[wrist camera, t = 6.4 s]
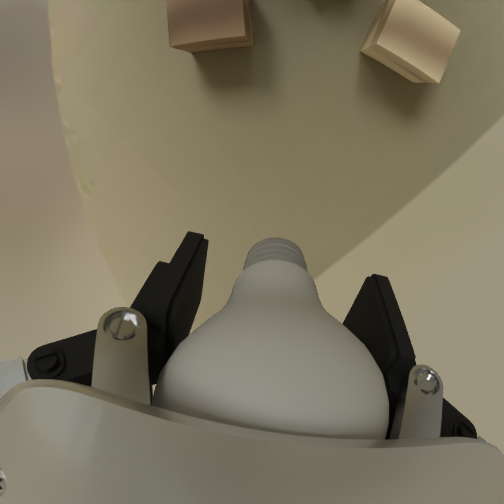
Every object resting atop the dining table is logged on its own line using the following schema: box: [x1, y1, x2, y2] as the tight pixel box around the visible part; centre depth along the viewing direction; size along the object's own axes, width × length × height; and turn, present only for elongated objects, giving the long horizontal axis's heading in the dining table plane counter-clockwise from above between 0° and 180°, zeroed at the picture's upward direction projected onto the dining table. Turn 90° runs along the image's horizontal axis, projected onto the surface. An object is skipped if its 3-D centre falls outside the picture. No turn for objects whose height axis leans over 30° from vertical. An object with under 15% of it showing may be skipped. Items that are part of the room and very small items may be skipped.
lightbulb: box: [152, 238, 389, 440], centre depth 9 cm, size 6×6×11 cm
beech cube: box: [360, 0, 461, 83], centre depth 16 cm, size 5×5×5 cm
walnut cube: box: [167, 0, 254, 53], centre depth 17 cm, size 5×5×5 cm
